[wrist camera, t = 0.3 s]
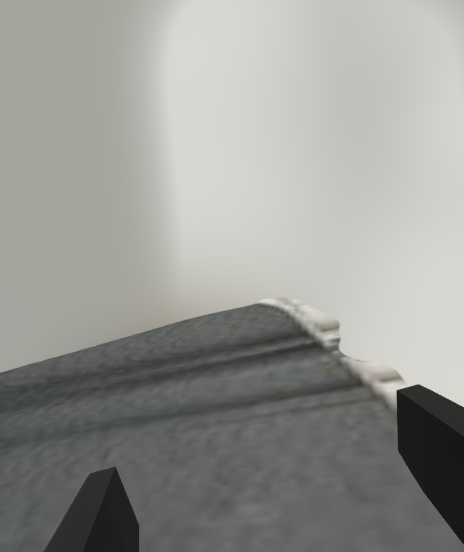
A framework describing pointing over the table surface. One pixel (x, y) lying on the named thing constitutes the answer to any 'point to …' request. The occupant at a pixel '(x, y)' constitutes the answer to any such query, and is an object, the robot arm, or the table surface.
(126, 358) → the table surface
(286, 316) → the table surface
